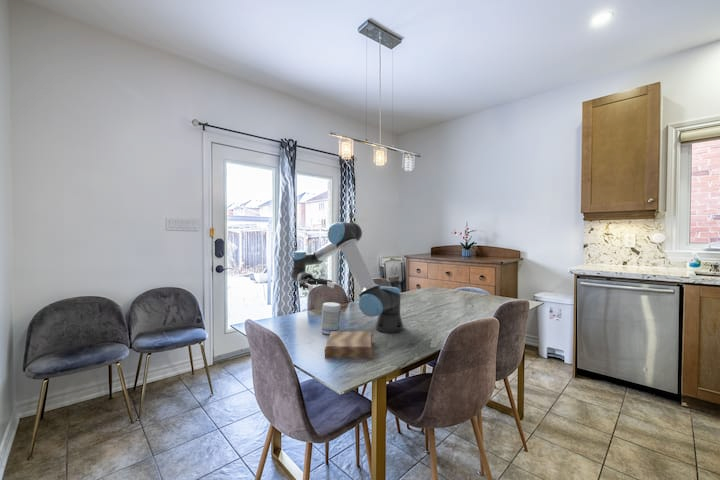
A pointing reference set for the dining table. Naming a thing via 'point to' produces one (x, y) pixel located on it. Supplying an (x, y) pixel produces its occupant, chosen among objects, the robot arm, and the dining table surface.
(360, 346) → the wooden square block
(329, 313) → the supplement tub
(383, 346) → the dining table surface
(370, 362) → the dining table surface
